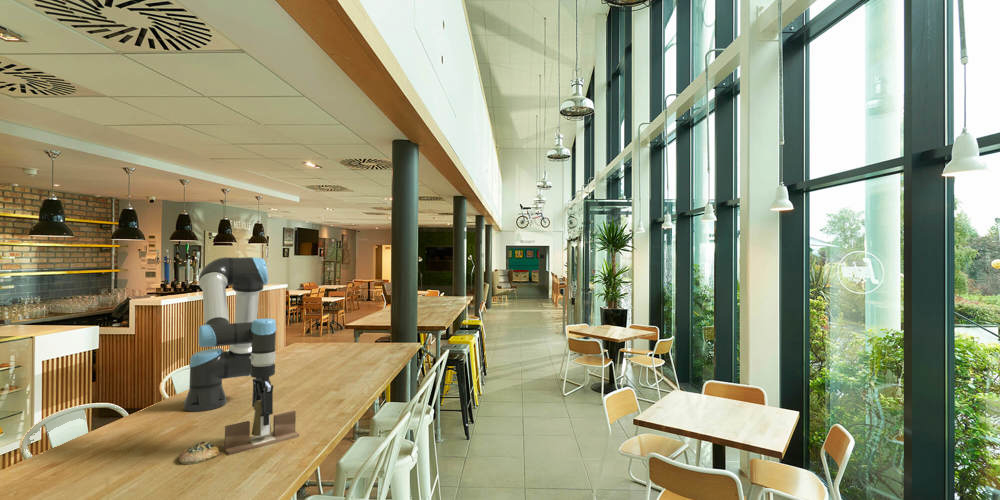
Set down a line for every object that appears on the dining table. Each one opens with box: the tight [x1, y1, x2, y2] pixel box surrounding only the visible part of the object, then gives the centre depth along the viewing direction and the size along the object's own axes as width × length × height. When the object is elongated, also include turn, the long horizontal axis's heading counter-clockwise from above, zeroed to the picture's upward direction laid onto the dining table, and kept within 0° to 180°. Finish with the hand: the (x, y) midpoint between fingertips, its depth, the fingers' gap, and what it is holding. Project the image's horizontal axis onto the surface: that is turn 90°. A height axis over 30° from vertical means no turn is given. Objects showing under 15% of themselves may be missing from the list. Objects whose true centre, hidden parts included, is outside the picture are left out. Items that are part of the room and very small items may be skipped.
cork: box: [251, 400, 272, 436], centre depth 156 cm, size 6×6×11 cm
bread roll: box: [178, 440, 221, 466], centre depth 143 cm, size 11×11×5 cm
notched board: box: [221, 410, 300, 456], centre depth 155 cm, size 9×22×8 cm, turn 135°
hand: (261, 431), depth 155 cm, fingers closed on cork, 6 cm apart
